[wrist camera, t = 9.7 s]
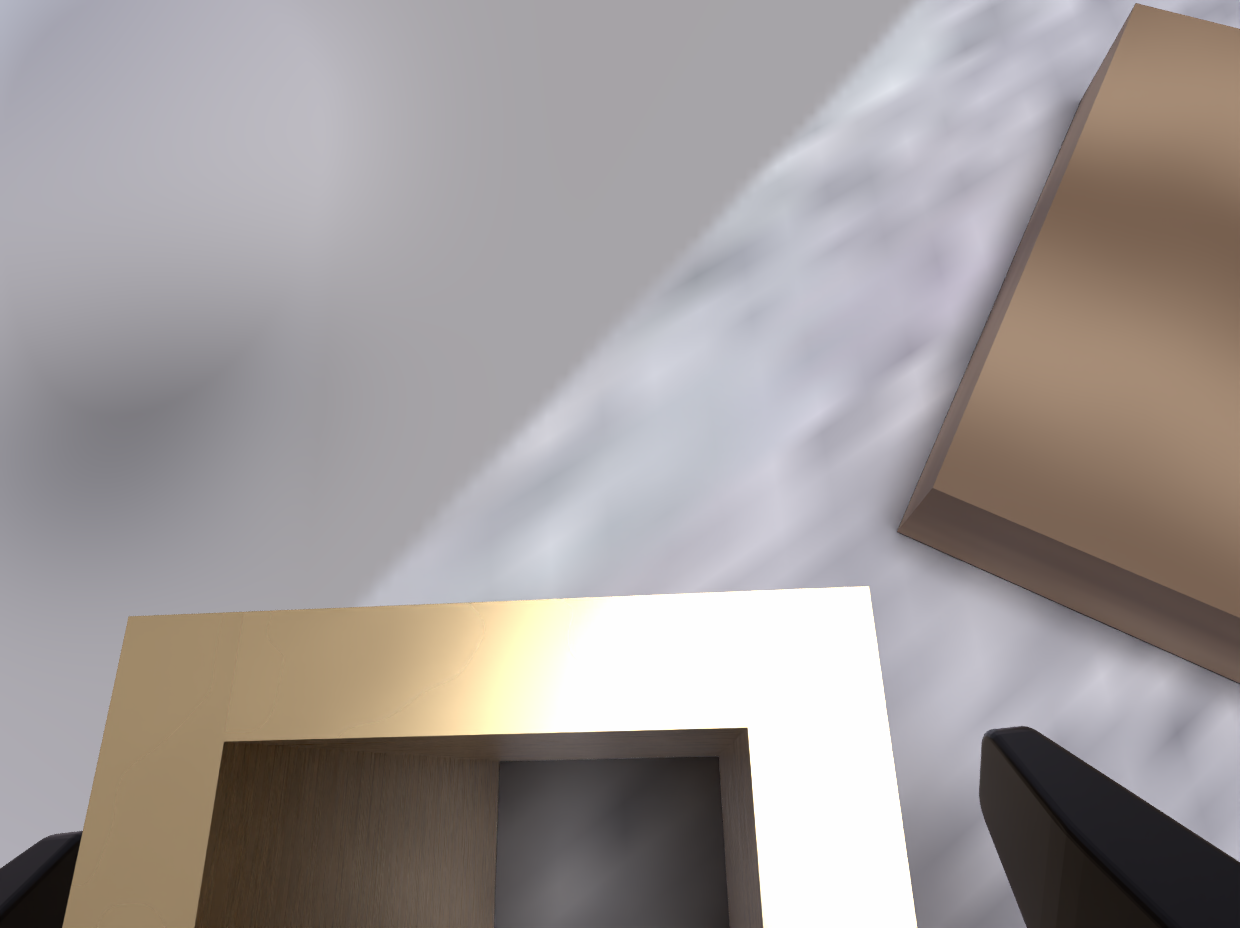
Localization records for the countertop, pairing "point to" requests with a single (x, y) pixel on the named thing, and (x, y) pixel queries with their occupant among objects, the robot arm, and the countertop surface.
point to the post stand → (1116, 363)
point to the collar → (481, 755)
